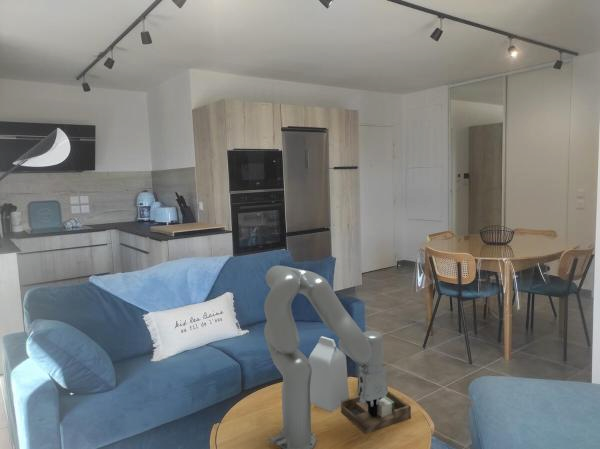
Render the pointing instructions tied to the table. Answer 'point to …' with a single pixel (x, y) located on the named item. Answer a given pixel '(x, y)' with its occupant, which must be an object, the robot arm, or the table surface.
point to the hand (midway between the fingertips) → (372, 414)
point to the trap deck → (369, 423)
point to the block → (384, 407)
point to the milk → (328, 375)
